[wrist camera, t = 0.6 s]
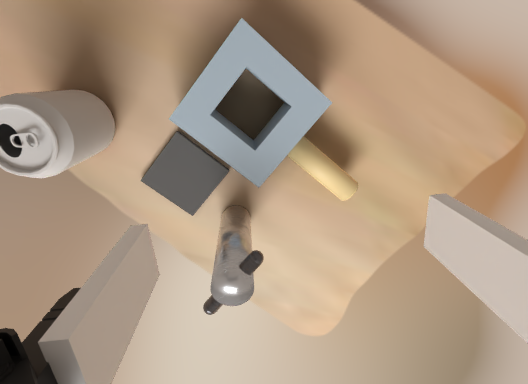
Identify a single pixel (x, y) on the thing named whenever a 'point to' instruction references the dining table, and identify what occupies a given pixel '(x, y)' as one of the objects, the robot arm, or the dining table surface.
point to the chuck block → (280, 125)
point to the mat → (184, 174)
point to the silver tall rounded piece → (233, 261)
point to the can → (52, 131)
